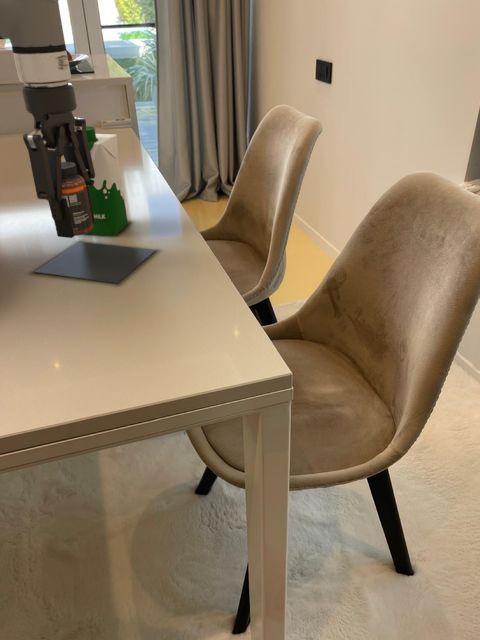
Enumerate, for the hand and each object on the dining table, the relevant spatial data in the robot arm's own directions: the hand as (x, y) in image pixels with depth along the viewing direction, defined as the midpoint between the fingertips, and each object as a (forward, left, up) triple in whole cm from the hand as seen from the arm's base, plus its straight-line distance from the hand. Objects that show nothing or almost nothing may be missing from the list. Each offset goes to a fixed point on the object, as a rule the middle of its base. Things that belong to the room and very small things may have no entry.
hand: (76, 229), depth 97 cm
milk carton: (-4, +15, -6) cm, 17 cm away
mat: (+3, 0, -6) cm, 7 cm away
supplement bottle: (0, 0, 0) cm, 1 cm away
